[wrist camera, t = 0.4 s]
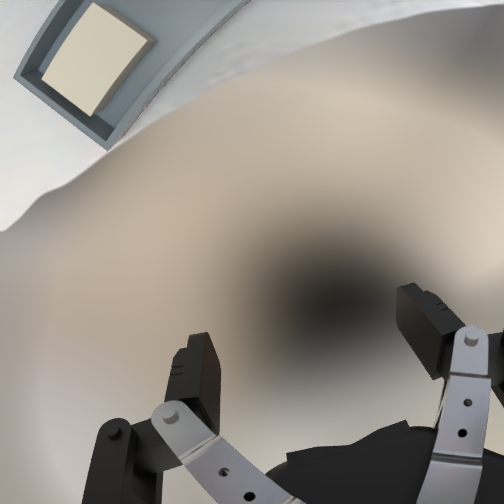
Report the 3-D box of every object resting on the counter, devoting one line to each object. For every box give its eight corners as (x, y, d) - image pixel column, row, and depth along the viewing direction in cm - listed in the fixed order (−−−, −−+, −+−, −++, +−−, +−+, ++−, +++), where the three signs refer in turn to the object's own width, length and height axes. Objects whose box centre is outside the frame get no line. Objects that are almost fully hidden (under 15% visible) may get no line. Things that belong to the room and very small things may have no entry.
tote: (35, 71, 27) (13, 77, 23) (160, -81, 17) (149, -95, 13) (122, 137, 34) (107, 151, 30) (263, -11, 25) (267, -20, 21)
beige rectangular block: (58, 74, 27) (41, 79, 24) (107, 5, 23) (92, 2, 20) (103, 108, 31) (90, 116, 28) (157, 40, 27) (147, 40, 24)
